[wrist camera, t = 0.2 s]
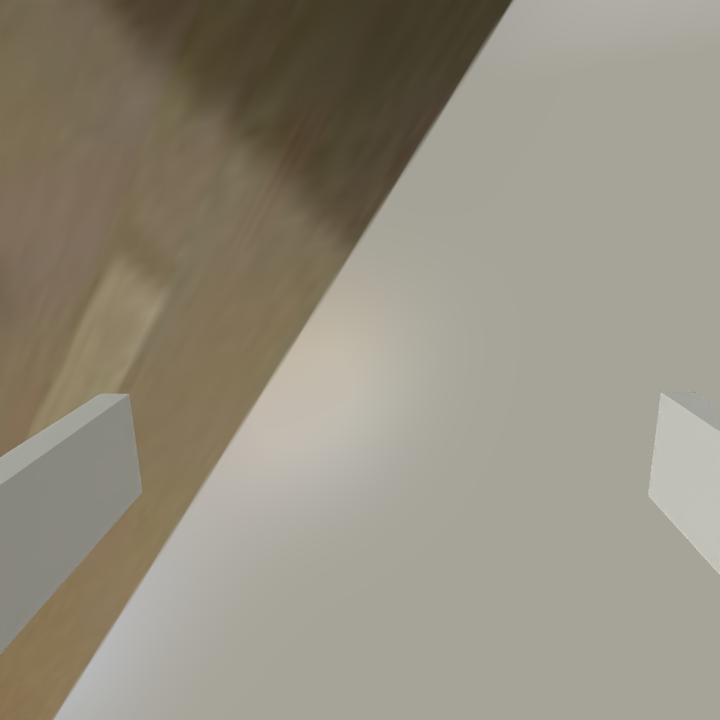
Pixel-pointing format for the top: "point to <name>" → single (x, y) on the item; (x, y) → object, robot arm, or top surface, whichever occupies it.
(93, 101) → the top surface
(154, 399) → the top surface
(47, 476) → the robot arm
